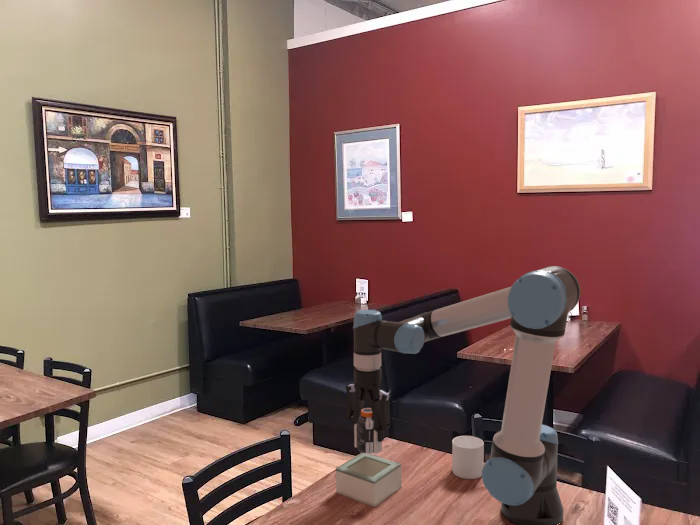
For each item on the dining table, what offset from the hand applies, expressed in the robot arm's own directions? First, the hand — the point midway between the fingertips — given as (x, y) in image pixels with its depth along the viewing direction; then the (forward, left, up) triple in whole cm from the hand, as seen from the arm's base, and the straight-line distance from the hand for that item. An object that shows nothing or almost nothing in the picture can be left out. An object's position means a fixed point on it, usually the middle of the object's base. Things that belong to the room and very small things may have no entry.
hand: (368, 448), depth 159 cm
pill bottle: (0, 0, 0) cm, 0 cm away
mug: (-17, -27, -12) cm, 34 cm away
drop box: (0, 0, -12) cm, 12 cm away
